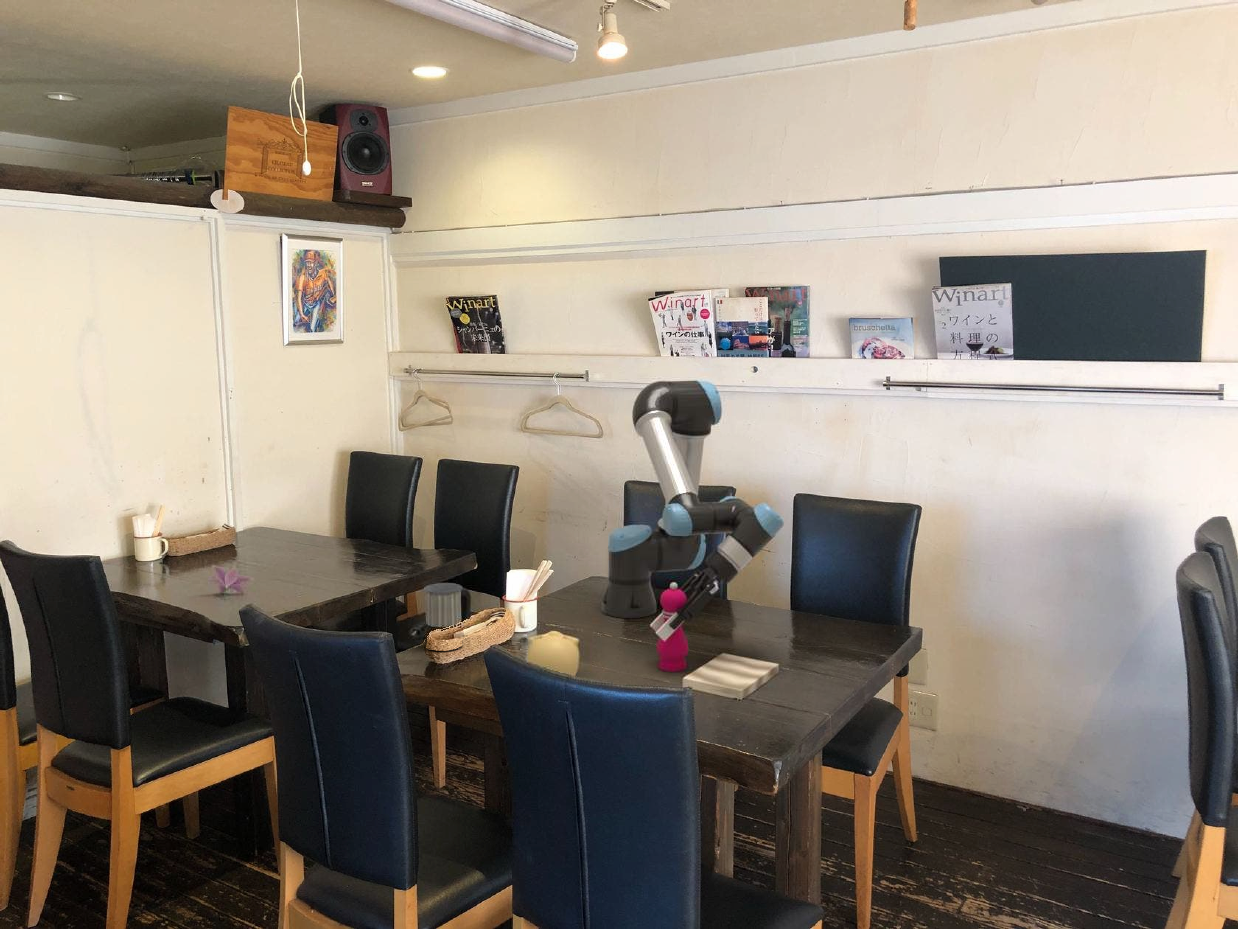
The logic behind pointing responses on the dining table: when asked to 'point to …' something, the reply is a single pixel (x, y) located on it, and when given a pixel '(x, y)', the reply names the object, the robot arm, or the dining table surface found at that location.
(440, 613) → the milk frother
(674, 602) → the pepper mill
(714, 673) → the serving board
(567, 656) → the sculpture
